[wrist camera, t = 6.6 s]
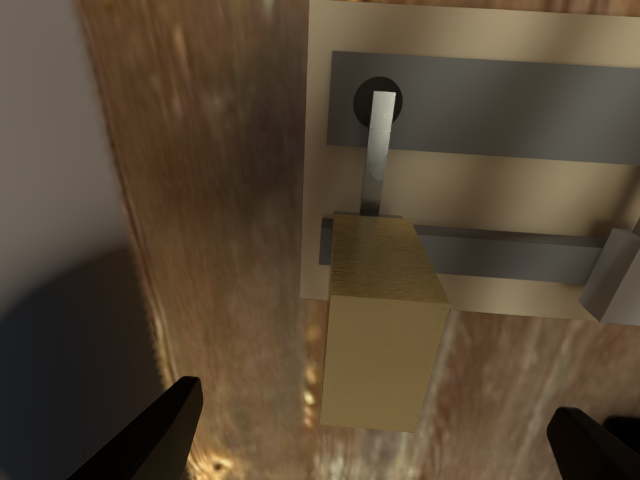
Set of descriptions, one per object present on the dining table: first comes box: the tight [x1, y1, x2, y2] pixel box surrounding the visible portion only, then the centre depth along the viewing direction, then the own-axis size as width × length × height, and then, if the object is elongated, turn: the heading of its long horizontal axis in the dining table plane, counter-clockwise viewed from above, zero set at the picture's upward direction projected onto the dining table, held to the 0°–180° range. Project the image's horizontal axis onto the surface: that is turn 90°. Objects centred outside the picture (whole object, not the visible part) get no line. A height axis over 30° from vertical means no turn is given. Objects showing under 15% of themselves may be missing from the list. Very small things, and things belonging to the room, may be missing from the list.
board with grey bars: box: [300, 0, 640, 326], centre depth 15 cm, size 18×14×4 cm
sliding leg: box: [320, 91, 451, 433], centre depth 12 cm, size 3×10×8 cm, turn 177°
